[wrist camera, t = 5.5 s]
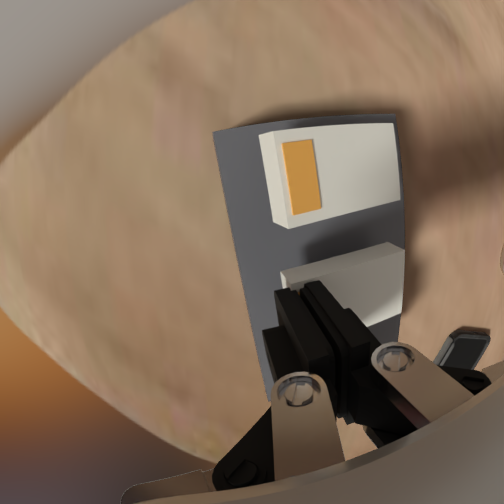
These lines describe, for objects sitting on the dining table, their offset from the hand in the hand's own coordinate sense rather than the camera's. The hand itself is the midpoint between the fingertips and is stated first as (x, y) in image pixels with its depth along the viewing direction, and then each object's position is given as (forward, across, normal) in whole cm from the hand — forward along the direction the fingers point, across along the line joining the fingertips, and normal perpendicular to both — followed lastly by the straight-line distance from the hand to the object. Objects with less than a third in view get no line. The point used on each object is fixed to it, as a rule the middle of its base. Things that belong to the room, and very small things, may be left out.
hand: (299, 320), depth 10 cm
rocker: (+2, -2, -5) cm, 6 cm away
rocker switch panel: (+6, -2, 0) cm, 6 cm away
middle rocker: (+2, -2, 0) cm, 3 cm away
